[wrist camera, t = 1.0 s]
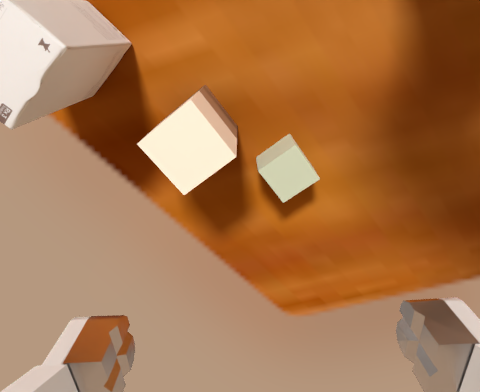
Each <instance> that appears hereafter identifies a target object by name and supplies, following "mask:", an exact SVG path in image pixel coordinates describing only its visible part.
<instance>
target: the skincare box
mask: <svg viewBox="0 0 480 392" xmlns="http://www.w3.org/2000/svg"><path fill="white" fill-rule="evenodd" d="M131 45H132V43H131V42H130V41H129V40H128V39H127V38H126V37H125V36H124V35H123V34H122V33H121V32H120V31H119V30H118V29H117V28H115V27H114V26H113V25H112V24H111V23H110V22H109V21H108V20H107V19H106V18H105V17H104V16H103V15H102V14H101V13H100V12H99V11H98V10H97V9H96V8H94V7H93V6H92V5H91V4H90V3H89V2H88V1H84V0H0V121H1V122H2V123H3V124H5V125H6V126H7V127H9V128H10V129H14V128H17V127H19V126H21V125H24V124H26V123H29V122H31V121H34V120H36V119H39V118H41V117H44V116H46V115H48V114H51V113H53V112H55V111H58V110H60V109H63V108H65V107H68V106H70V105H73V104H75V103H77V102H80V101H82V100H85V99H87V98H90V97H93V96H94V95H95V93H96V92H97V91H98V89H99V88H100V87H101V86H102V84H103V83H104V82H105V80H106V79H107V78H108V76H109V75H110V74H111V72H112V71H113V70H114V68H115V67H116V66H117V64H118V63H119V61H120V60H121V58H122V57H123V55H124V54H125V52H126V51H127V50H128V49H129V47H130V46H131Z"/></svg>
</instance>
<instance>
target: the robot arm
mask: <svg viewBox="0 0 480 392" xmlns="http://www.w3.org/2000/svg"><path fill="white" fill-rule="evenodd" d="M400 312H401V314H402V316H403V318H402V319H401V320H400V321H398V323H397V329H396V333H397V340H398V343H399V346H400V349H401V351H402V353H403V354H404V356H405V357H406V358H407V359H409V360H410V361H411V362H413V363H414V366H413V373H414V374H415V376H416V378H417V380H418V381H419V383H420V385H421V387H422V389H423V390H424V392H480V319H479V318H478V317H477V316H476V315H475V314H474V313H473V311H472V310H471V309H470V308H469V307H468V306H467V305H466V304H465V303H464V302H463V301H462V300H461V299H459V298H457V297H453V298H439V299H423V300H406V301H403V302H402V304H401V307H400ZM129 326H130V324H129V321H128V318H127V316H124V315H121V316H91V317H75V318H73V319H72V320H71V321H70V322H69V323H68V325H67V326H66V328H65V329H64V331H63V333H62V334H61V336H60V337H59V339H58V340H57V342H56V344H55V345H54V347H53V348H52V350H51V351H50V353H49V355H48V356H47V358H46V359H45V361H44V362H43V364H42V366H35V367H34V368H33V369H31V370H30V371H28V372H27V373H26V374H24V375H23V376H22V377H20V378H19V379H18V380H16V381H15V382H13V383H12V384H11V385H9V386H8V387H7V388H5V389H4V390H3V391H1V392H123V391H124V388H125V381H124V378H123V377H124V376H125V375H126V374H127V373H128V372H129V371H130V370H131V367H132V364H133V361H134V353H135V343H134V339H133V336H132V335H131V334H130V333H129V332H127V331H128V328H129Z"/></svg>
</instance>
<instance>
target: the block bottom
mask: <svg viewBox="0 0 480 392" xmlns="http://www.w3.org/2000/svg"><path fill="white" fill-rule="evenodd" d="M198 91H200V92H201V93H202V95H203V96H204V97H205V99H206V100H207V101H208V102H209V104H210V105H211V106H212V108H213V109H214V110H215V111H216V113H217V114H218V115H219V117H220V118H221V119H222V120H223V122H224V123H225V124H226V126H227V127H228V128H229V129H230V131H231V132H232V133H233V135H234V136H235V137H236V138H237V127H238V126H237V125H236V124H235V122H234V121H233V120H232V119H231V117H230V116H229V115H228V113H227V112H226V111H225V109H224V108H223V107H222V105H221V104H220V103H219V102H218V100H217V99H216V98H215V96H214V95H213V94H212V92H211V91H210V90H209V88H208V87H207V86H206V85H204V86H203V87H202V88H201V89H200V90H198ZM198 91H197V92H198ZM197 92H196V93H197ZM196 93H195V94H196ZM195 94H194V95H195ZM194 95H192V96H194ZM192 96H191V97H192ZM191 97H190V98H191ZM190 98H189V99H190ZM189 99H188V100H189ZM188 100H186V101H188ZM186 101H185V102H186ZM185 102H184V103H185ZM184 103H183V104H184ZM183 104H182V105H183ZM182 105H180V106H182ZM180 106H179V107H180ZM179 107H178V108H179ZM178 108H177V109H178ZM177 109H176V110H177ZM176 110H174V111H176ZM174 111H173V112H174ZM173 112H172V113H173ZM172 113H171V114H172ZM171 114H170V115H171ZM170 115H168V116H170ZM168 116H167V117H168ZM167 117H166V118H167ZM166 118H165V119H166ZM165 119H164V120H165ZM164 120H163V121H164ZM159 124H160V123H159ZM159 124H158V125H159ZM158 125H157V126H158Z"/></svg>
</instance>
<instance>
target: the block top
mask: <svg viewBox="0 0 480 392" xmlns="http://www.w3.org/2000/svg"><path fill="white" fill-rule="evenodd" d="M137 145H138V146H139V147H140V148H141V149H142V150H143V151H144V152H145V153H146V155H147V156H148V157H149V158H150V159H151V160H152V161H153V162H154V163H155V164H156V165H157V166H158V168H159V169H160V170H161V171H162V172H163V173H164V174H165V175H166V176H167V177H168V178H169V180H170V181H171V182H172V183H173V184H174V185H175V186H176V187H177V188H178V189H179V190H180V191H181V193H182V194H183V195H185V194H187V193H188V192H189V191H191V190H192V189H193V188H195V187H196V186H197V185H199V184H200V183H202V182H203V181H204V180H206V179H207V178H208V177H210V176H211V175H212V174H214V173H215V172H217V171H218V170H219V169H221V168H222V167H223V166H225V165H226V164H227V163H229V162H230V161H231V160H233V159H234V158H236V155H237V138H236V137H235V136H234V135H233V133H232V132H231V131H230V129H229V128H228V127H227V126H226V124H225V123H224V122H223V120H222V119H221V118H220V117H219V115H218V114H217V113H216V111H215V110H214V109H213V108H212V106H211V105H210V104H209V102H208V101H207V100H206V99H205V97H204V96H203V95H202V93H201V92H200V91H198V92H197V93H196V94H195V95H194V96H192V97H191V98H190V99H189V100H188V101H186V102H185V103H184V104H183V105H182V106H180V107H179V108H178V109H177V110H176V111H174V112H173V113H172V114H171V115H170V116H168V117H167V118H166V119H165V120H164V121H162V122H161V123H160V124H159V125H158V126H156V127H155V128H154V129H153V130H152V131H151V132H150V133H148V134H147V135H146V136H145V137H144V138H143V139H142V140H141V141H140V142H139V143H137Z"/></svg>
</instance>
